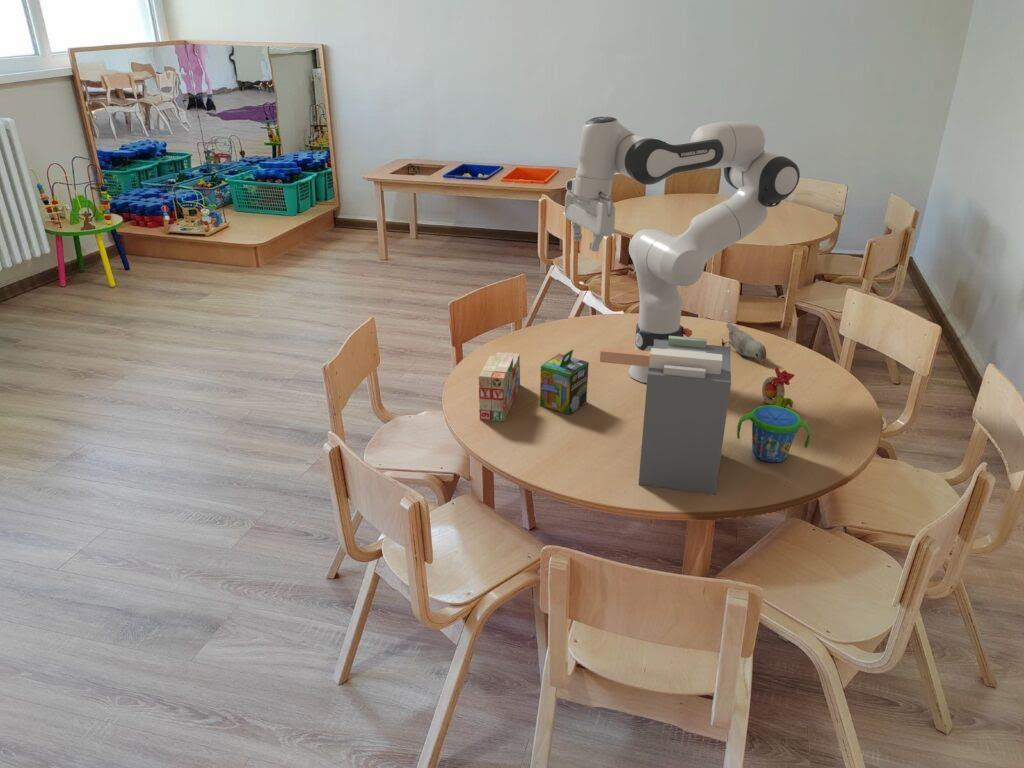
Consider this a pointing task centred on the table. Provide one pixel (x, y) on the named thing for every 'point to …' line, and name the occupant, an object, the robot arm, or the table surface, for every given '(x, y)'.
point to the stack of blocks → (498, 385)
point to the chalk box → (564, 383)
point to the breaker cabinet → (685, 421)
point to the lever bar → (662, 358)
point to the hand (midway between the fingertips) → (585, 245)
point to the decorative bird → (745, 344)
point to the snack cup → (773, 431)
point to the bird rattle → (777, 389)
